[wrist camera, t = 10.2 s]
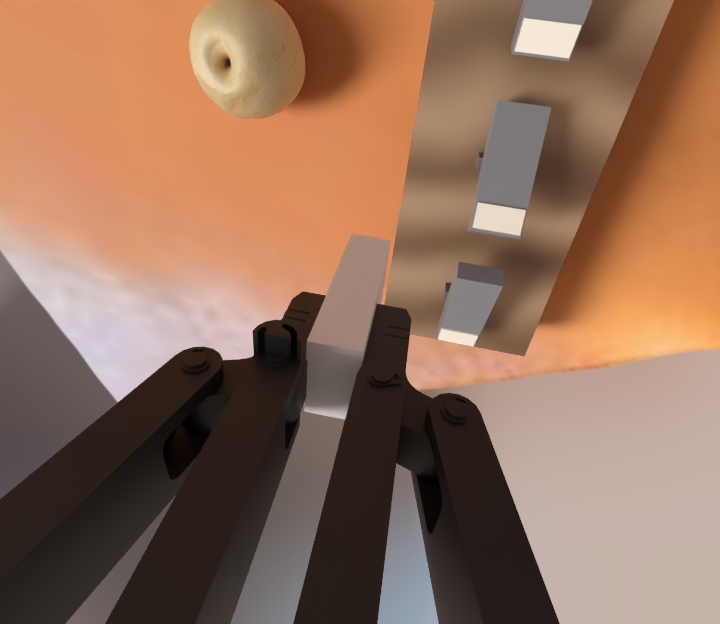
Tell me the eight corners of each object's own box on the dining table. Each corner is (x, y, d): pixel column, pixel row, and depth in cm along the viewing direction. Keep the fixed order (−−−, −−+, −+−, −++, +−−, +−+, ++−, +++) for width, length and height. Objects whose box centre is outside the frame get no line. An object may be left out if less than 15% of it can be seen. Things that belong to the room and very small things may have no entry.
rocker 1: (458, 261, 31) (456, 279, 30) (503, 269, 31) (502, 288, 30) (438, 323, 38) (436, 340, 37) (475, 330, 37) (473, 347, 36)
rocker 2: (493, 107, 28) (498, 98, 26) (543, 114, 28) (552, 106, 26) (467, 231, 30) (470, 230, 28) (514, 239, 29) (520, 239, 28)
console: (463, -151, 26) (466, -197, 20) (698, -129, 24) (766, -172, 19) (387, 299, 44) (378, 338, 38) (520, 324, 43) (529, 367, 37)
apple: (340, 76, 33) (285, 137, 30) (268, 88, 38) (214, 142, 34) (292, -46, 28) (219, 12, 24) (214, -15, 32) (144, 37, 29)
